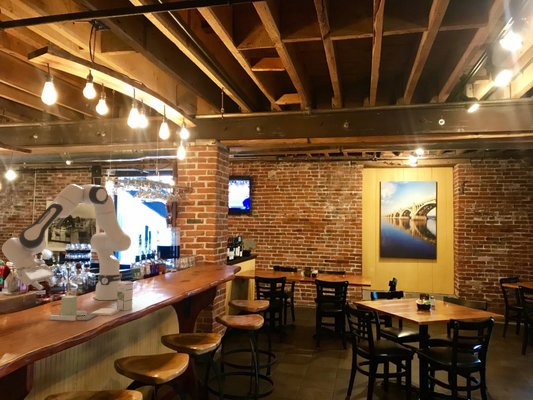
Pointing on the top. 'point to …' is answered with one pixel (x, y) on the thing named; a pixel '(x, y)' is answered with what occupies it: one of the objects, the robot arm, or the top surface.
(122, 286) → the syrup box
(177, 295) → the top surface
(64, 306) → the sage block
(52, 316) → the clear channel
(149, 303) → the top surface
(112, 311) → the coaster board
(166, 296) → the top surface
